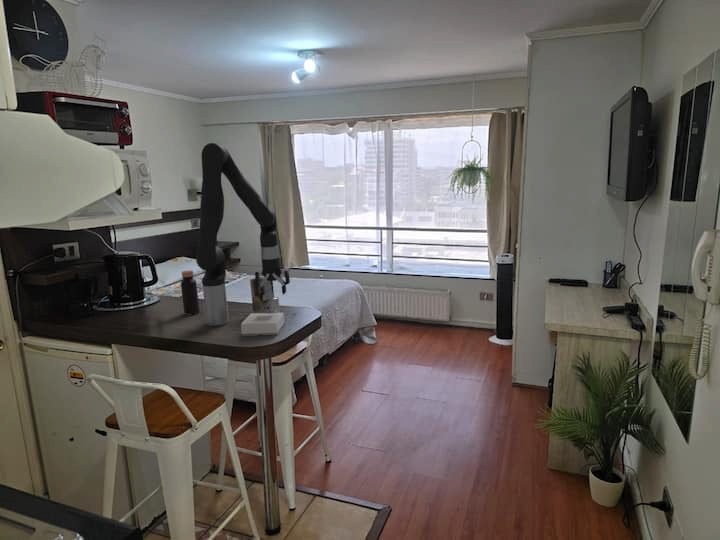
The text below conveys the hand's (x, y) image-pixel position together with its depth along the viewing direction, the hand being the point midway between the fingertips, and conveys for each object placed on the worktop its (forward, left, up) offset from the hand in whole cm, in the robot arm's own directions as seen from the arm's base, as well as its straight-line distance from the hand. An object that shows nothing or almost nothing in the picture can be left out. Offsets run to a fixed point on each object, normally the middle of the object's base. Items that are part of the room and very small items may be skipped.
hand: (273, 294), depth 197 cm
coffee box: (-8, +12, -12) cm, 19 cm away
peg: (0, 0, -12) cm, 12 cm away
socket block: (-2, -12, -12) cm, 17 cm away
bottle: (-43, +15, -12) cm, 47 cm away
